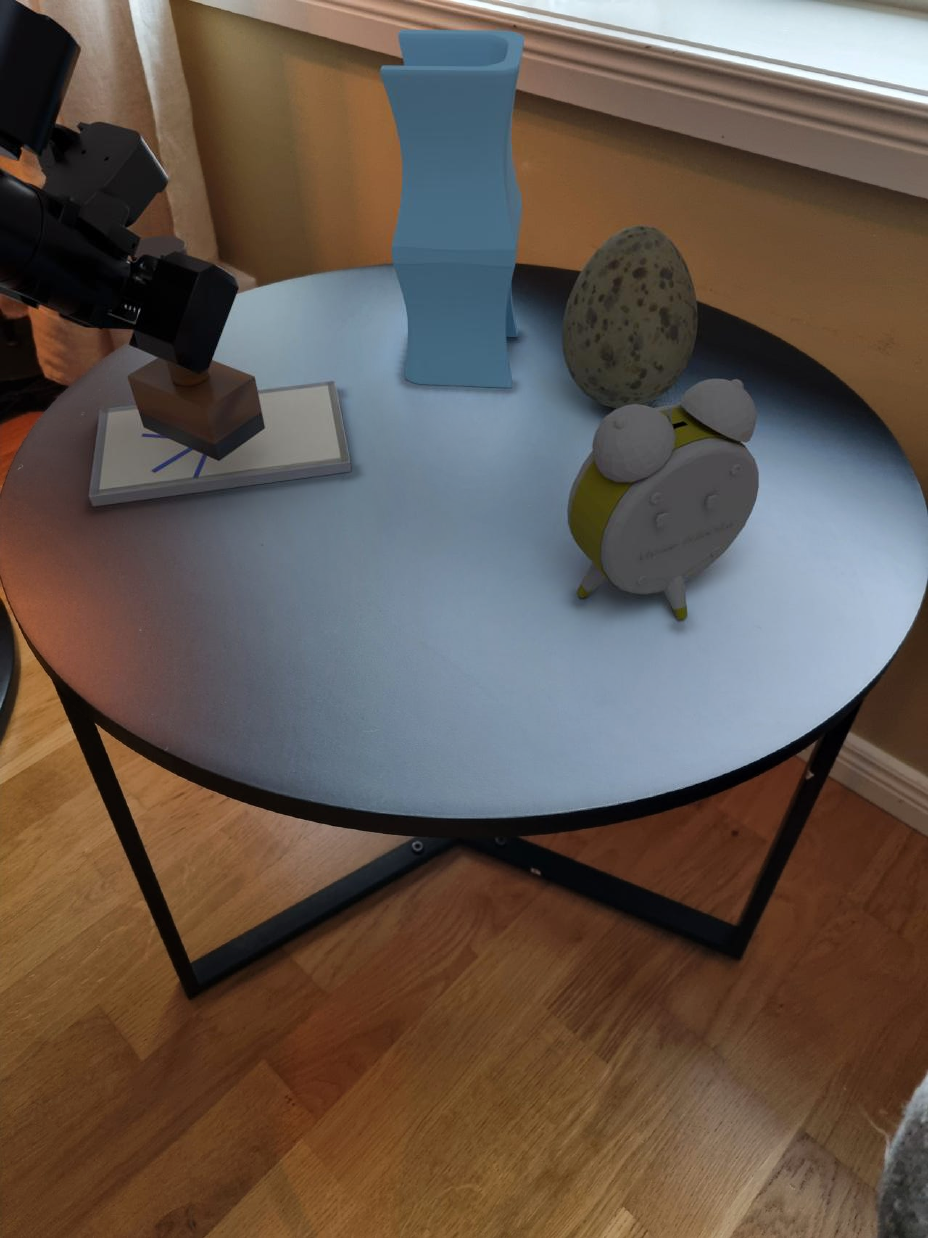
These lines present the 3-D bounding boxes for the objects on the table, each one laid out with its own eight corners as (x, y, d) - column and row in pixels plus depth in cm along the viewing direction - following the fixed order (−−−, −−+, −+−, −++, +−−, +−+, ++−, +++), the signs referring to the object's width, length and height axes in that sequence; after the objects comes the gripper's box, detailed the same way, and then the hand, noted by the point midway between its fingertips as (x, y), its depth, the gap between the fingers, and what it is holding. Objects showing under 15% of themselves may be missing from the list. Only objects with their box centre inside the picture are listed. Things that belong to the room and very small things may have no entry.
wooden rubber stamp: (219, 461, 67) (172, 277, 57) (143, 427, 70) (86, 247, 60) (265, 428, 70) (228, 247, 60) (190, 397, 73) (143, 220, 63)
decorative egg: (655, 450, 74) (684, 272, 64) (536, 414, 78) (544, 240, 67) (700, 385, 81) (734, 213, 70) (588, 355, 85) (603, 187, 74)
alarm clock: (693, 535, 67) (733, 351, 56) (753, 593, 63) (809, 406, 52) (556, 587, 64) (570, 401, 53) (609, 653, 60) (637, 465, 49)
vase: (416, 327, 89) (398, 28, 70) (518, 331, 88) (526, 29, 70) (401, 383, 82) (377, 69, 64) (511, 388, 81) (519, 70, 63)
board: (92, 507, 71) (88, 496, 70) (103, 418, 79) (99, 408, 78) (351, 471, 73) (350, 461, 72) (336, 389, 81) (335, 379, 81)
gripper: (175, 119, 47) (338, 251, 61) (-50, 62, 54) (143, 192, 68) (100, 329, 48) (277, 409, 62) (-110, 245, 55) (92, 334, 69)
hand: (194, 329), depth 65 cm, fingers closed on wooden rubber stamp, 3 cm apart
